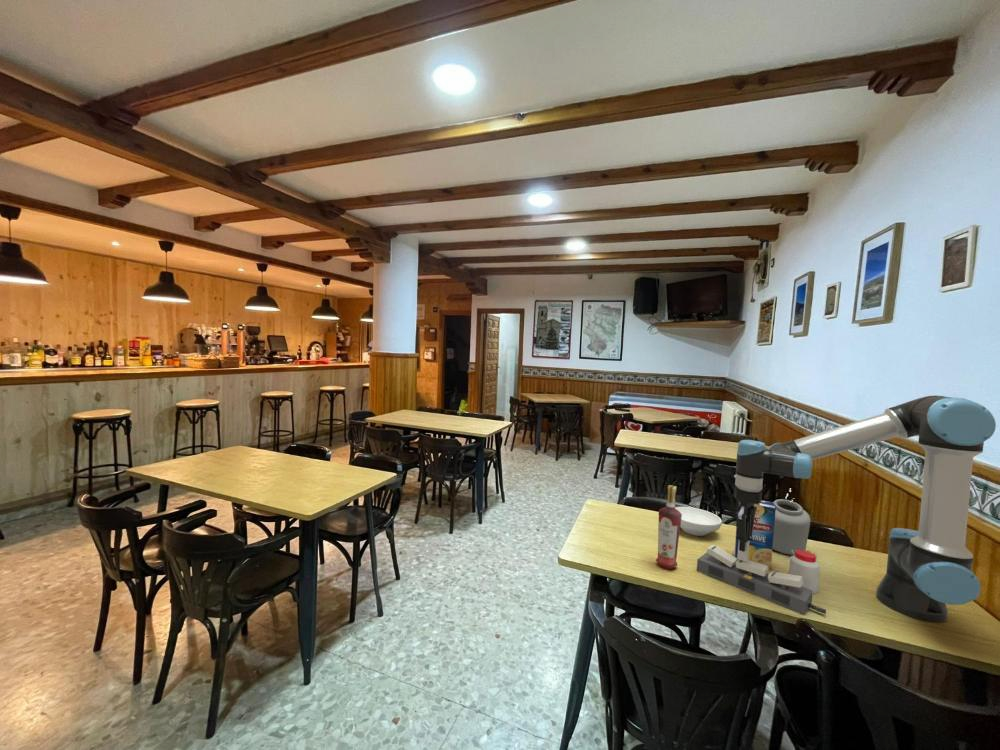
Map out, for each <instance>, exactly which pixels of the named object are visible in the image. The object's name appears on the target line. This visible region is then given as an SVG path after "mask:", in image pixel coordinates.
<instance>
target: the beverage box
mask: <svg viewBox="0 0 1000 750" xmlns="http://www.w3.org/2000/svg"><path fill="white" fill-rule="evenodd" d="M737 502H738V503H737V506H738V505H740V501H739V500H737ZM773 502H774V501H773ZM773 502H772V501H767V500H762V499H761V503H759V504H754V506H755V507H757V509H756V513H755V519H754V525H753V532H752V537H750V538H752V539H753V540H752V541H750V540H748V541H749V553H748V560H749V561H753V562H756V563H759V564H763V565H766V566H769V571H771V569H772V560H773V559H772V558H773V556H772V555H773V549H772V547H773V535H774V523H775V511H776V507H775V505H774V503H773ZM737 512H739V511H738V510H737ZM734 541H735V543H734V551H733V552H734V555H733V557H735V558H737V554H738V542H739V540H738V539H736V538H735V540H734ZM737 560H739V559H737Z"/></svg>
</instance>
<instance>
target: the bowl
mask: <svg viewBox="0 0 1000 750" xmlns="http://www.w3.org/2000/svg"><path fill="white" fill-rule="evenodd" d="M675 509H677V510H678V511H679V512H680V513H681V514H682V517H681V525H680V529H681V530H682V531H683V532H685V533H687V534H689V535H691V536H698V537H703V536H707V535H708V534H710V533H713V532H714V531H718V530H720V528H721V526H722V519H721V517H719V516H718V515H716V514H715V513H712V511H711V512H710V511H707V510H704V509H701V508H695V507H692V506H691V507H690V506H675Z"/></svg>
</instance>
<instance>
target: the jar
mask: <svg viewBox="0 0 1000 750" xmlns="http://www.w3.org/2000/svg"><path fill="white" fill-rule="evenodd" d="M791 489H792V488H789V492H790V493H791V492H792V490H791ZM788 496H789V493H786V496H785V499H783V498H781V499H775V500H774V501H773V503H774V505H775V507H776V511H775V523H774V535H773V547H772V550H774V551H775V552H778V553H781V554H783V555H790V556H793V555H795V550H805V551H806V550H807V544H808V540H809V539H808V538H809V533H810V526H811V516H810V515H809V514H808V513H809V512H807V511H805V510H804V509H803V507H802V506H801V505H800V504H799V503H797V502H794V500H793V499H791V500H789V499H787V497H788Z"/></svg>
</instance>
